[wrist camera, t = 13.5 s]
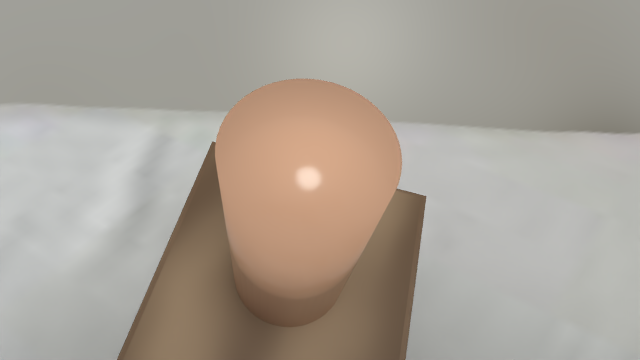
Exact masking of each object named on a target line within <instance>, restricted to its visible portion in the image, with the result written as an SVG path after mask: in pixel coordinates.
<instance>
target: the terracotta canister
mask: <svg viewBox="0 0 640 360" xmlns="http://www.w3.org/2000/svg"><path fill="white" fill-rule="evenodd" d="M215 160H216V167H217V173H218V180H219V186H220V192H221V198H222V205H223V211H224V217H225V223H226V230H227V236H228V242H229V248H230V255H231V261H232V267H233V274H234V280H235V285H236V289H237V292H238V294H239V297H240V299H241V300H242V302H243V303H244V305H245V306H246V307H247V308H248V310H249V311H250V312H252V313H253V314H254V315H255V316H257V317H258V318H259V319H261V320H263V321H265V322H267V323H270V324H273V325H276V326H281V327H297V326H302V325H306V324H309V323H311V322H314V321H315V320H317V319H319V318H320V317H322V316H323V315H325V314H326V313H327V312H328V311H329V310H330V309H331V308H332V306H333V305H334V304H335V302H336V301H337V299H338V297H339V295H340V294H341V292H342V290H343V288H344V286H345V284H346V282H347V280H348V279H349V277H350V275H351V273H352V271H353V269H354V267H355V266H356V264H357V262H358V260H359V258H360V256H361V254H362V253H363V251H364V249H365V247H366V245H367V243H368V241H369V239H370V238H371V236H372V234H373V232H374V230H375V228H376V226H377V225H378V223H379V221H380V219H381V217H382V215H383V213H384V212H385V210H386V208H387V206H388V204H389V202H390V200H391V199H392V197H393V195H394V193H395V191H396V188H397V186H398V183H399V180H400V176H401V169H402V156H401V149H400V145H399V141H398V139H397V136H396V133H395V131H394V130H393V128H392V126H391V124H390V123H389V121H388V120H387V118H386V117H385V116H384V115H383V114H382V113H381V111H380V110H379V109H378V108H377V107H376V106H375V105H373V104H372V103H371V102H370V101H369V100H367V99H365V98H364V97H363V96H361V95H360V94H358V93H356V92H354V91H353V90H351V89H348V88H346V87H344V86H341V85H338V84H335V83H332V82H327V81H322V80H315V79H291V80H284V81H279V82H274V83H272V84H268V85H265V86H263V87H261V88H259V89H256V90H255V91H253V92H251V93H250V94H248V95H246V96H245V97H244V98H243V99H241V100H240V101H239V102H238V103H237V104H236V105H235V106H234V107H233V108H232V109H231V110H230V111H229V113H228V114H227V116H226V117H225V119H224V121H223V122H222V124H221V126H220V129H219V132H218V135H217V139H216V145H215Z"/></svg>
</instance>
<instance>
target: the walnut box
mask: <svg viewBox="0 0 640 360" xmlns="http://www.w3.org/2000/svg"><path fill="white" fill-rule="evenodd" d="M215 145H216V142H212V144H211V146H210V148H209V151H208V153H207V155H206V157H205V160H204V162H203V164H202V167H201V169H200V171H199V173H198V176H197V178H196V180H195V183H194V185H193V187H192V189H191V192H190V194H189V196H188V199H187V201H186V203H185V205H184V208H183V210H182V212H181V215H180V217H179V219H178V221H177V224H176V226H175V228H174V231H173V233H172V235H171V237H170V240H169V242H168V244H167V247H166V249H165V251H164V253H163V256H162V258H161V260H160V263H159V265H158V267H157V269H156V272H155V274H154V276H153V279H152V281H151V283H150V285H149V288H148V290H147V292H146V295H145V297H144V299H143V301H142V304H141V306H140V308H139V311H138V313H137V315H136V317H135V320H134V322H133V324H132V327H131V329H130V331H129V333H128V336H127V338H126V340H125V343H124V345H123V347H122V349H121V352H120V354H119V356H118V359H117V360H405V358H406V350H407V343H408V335H409V327H410V319H411V311H412V304H413V296H414V288H415V280H416V273H417V265H418V257H419V249H420V241H421V234H422V226H423V218H424V210H425V202H426V196H423V195H419V194H416V193H412V192H408V191H404V190H400V189H396V191H395V193H394V195H393V197H392V199H391V200H390V202H389V204H388V206H387V208H386V210H385V212H384V213H383V215H382V217H381V219H380V221H379V223H378V225H377V226H376V228H375V230H374V232H373V234H372V236H371V238H370V239H369V241H368V243H367V245H366V247H365V249H364V251H363V253H362V254H361V256H360V258H359V260H358V262H357V264H356V266H355V267H354V269H353V271H352V273H351V275H350V277H349V279H348V280H347V282H346V284H345V286H344V288H343V290H342V292H341V294H340V295H339V297H338V299H337V301H336V302H335V304H334V305H333V306H332V308H331V309H330V310H329V311H328V312H327V313H326V314H325V315H323V316H322V317H320V318H319V319H317V320H315V321H314V322H311V323H309V324H306V325H302V326H297V327H281V326H276V325H273V324H270V323H267V322H265V321H263V320H261V319H259V318H258V317H257V316H255V315H254V314H253V313H252V312H250V311H249V310H248V308H247V307H246V306H245V305H244V303H243V302H242V300H241V299H240V297H239V294H238V292H237V289H236V285H235V280H234V274H233V267H232V261H231V255H230V248H229V242H228V236H227V230H226V223H225V217H224V211H223V205H222V198H221V192H220V186H219V180H218V173H217V167H216V160H215Z"/></svg>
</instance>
